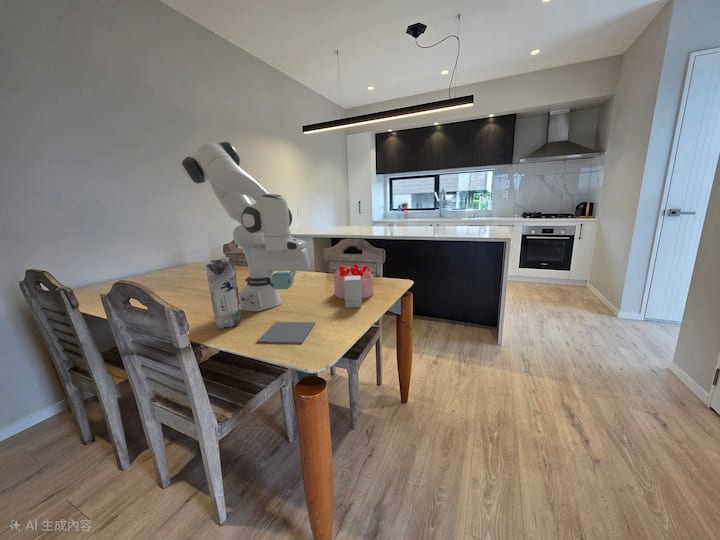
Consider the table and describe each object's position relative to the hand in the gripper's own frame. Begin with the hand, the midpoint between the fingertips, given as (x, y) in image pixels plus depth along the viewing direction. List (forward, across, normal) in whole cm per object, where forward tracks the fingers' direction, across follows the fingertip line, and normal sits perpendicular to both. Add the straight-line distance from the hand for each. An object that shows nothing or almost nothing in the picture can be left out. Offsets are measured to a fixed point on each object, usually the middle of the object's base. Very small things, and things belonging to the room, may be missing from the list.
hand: (282, 282), depth 100 cm
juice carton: (+19, -27, +7) cm, 34 cm away
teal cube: (+2, 0, 0) cm, 2 cm away
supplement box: (+19, +20, +29) cm, 40 cm away
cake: (+19, +18, +44) cm, 51 cm away
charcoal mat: (+19, 0, 0) cm, 19 cm away
